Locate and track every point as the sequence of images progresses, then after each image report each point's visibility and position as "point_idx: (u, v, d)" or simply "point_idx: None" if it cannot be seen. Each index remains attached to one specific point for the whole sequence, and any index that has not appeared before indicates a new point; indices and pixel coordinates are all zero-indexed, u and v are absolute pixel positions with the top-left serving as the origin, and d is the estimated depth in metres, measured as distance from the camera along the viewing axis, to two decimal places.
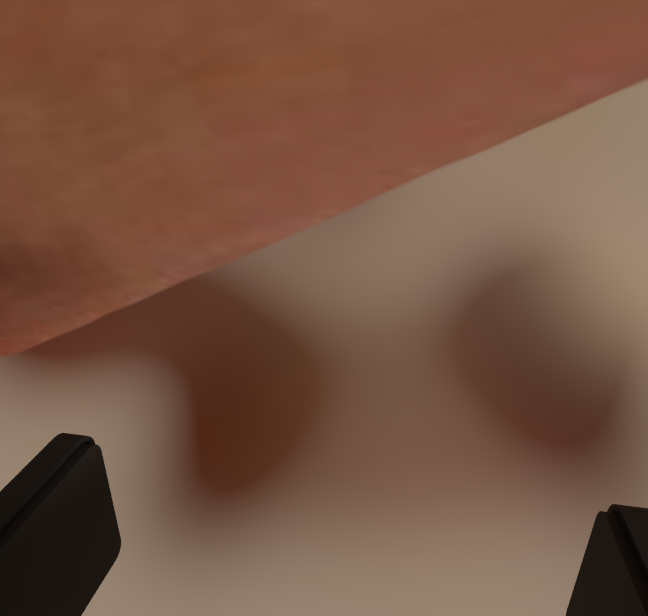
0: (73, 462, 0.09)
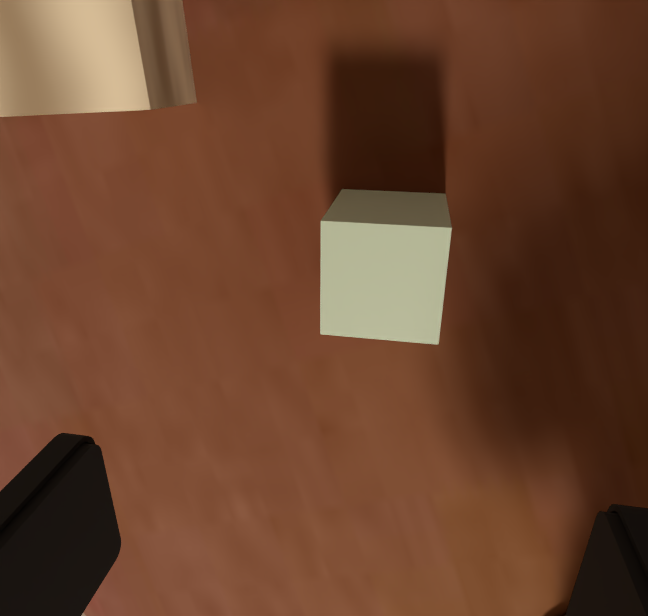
0: (73, 462, 0.09)
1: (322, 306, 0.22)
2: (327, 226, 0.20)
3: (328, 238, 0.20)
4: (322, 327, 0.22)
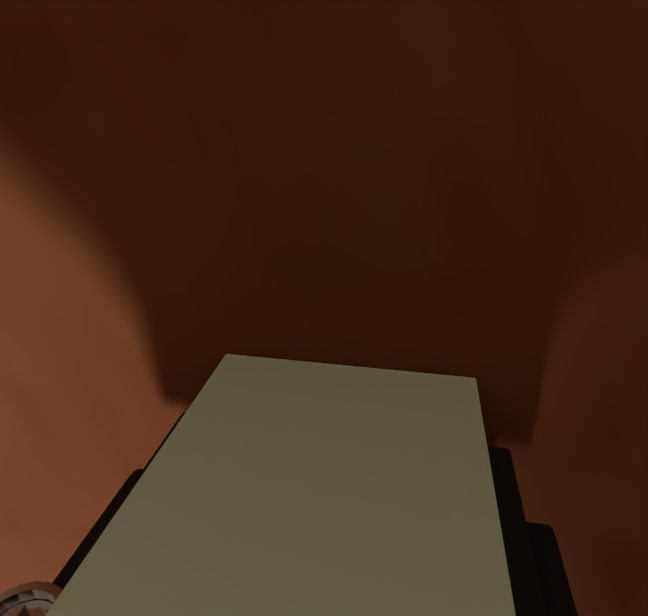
0: None
1: None
2: None
3: None
4: None
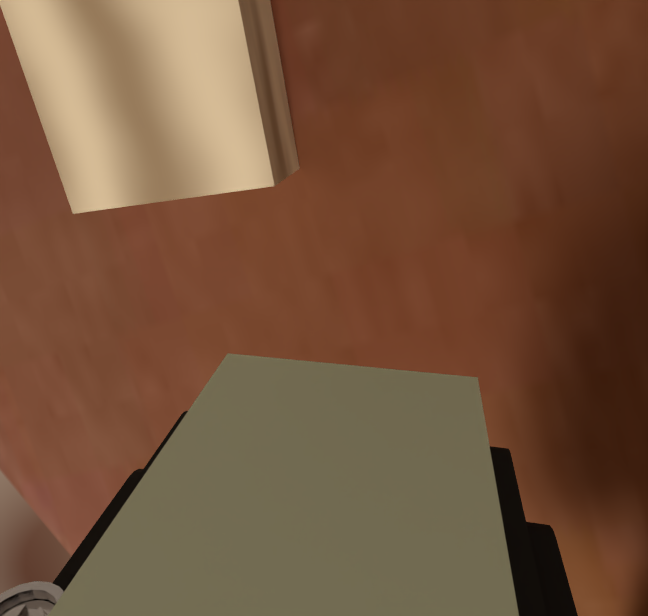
0: None
1: None
2: None
3: None
4: None
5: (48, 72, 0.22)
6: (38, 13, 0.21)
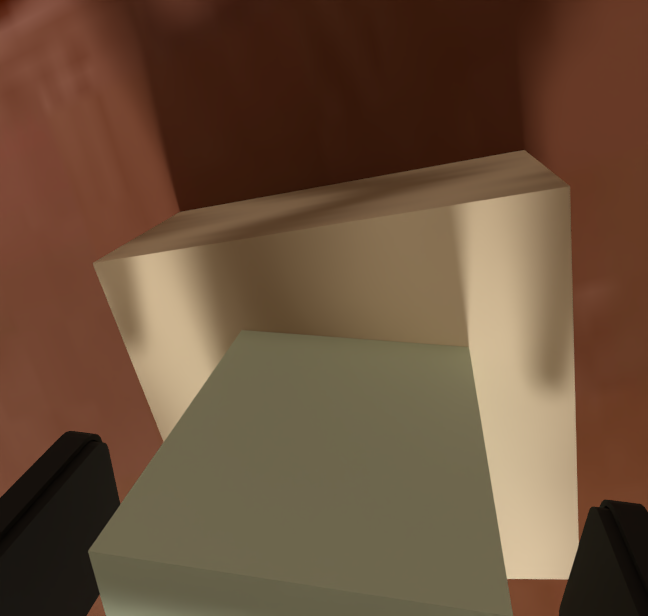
0: (81, 460, 0.09)
1: None
2: (111, 566, 0.06)
3: (120, 594, 0.07)
4: None
5: None
6: (182, 331, 0.12)
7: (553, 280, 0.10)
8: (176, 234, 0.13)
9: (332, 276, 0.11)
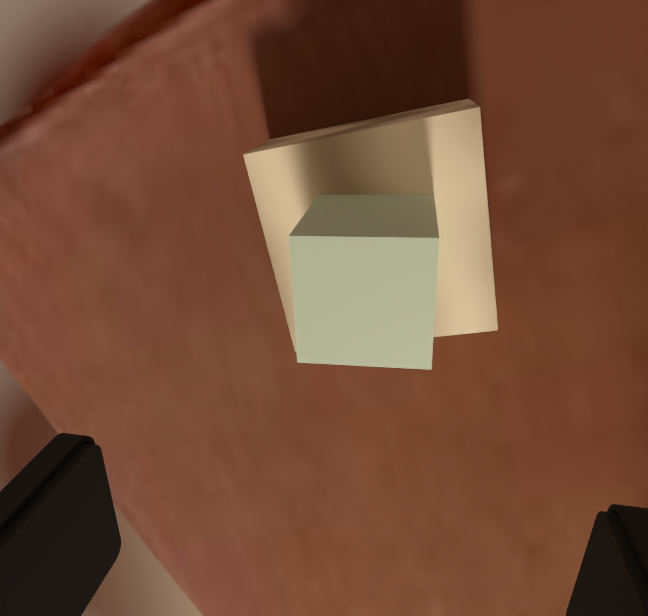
0: (73, 462, 0.09)
1: (297, 331, 0.19)
2: (296, 242, 0.18)
3: (298, 256, 0.18)
4: (299, 355, 0.19)
5: None
6: (288, 191, 0.23)
7: (475, 154, 0.21)
8: (281, 143, 0.24)
9: (368, 156, 0.22)
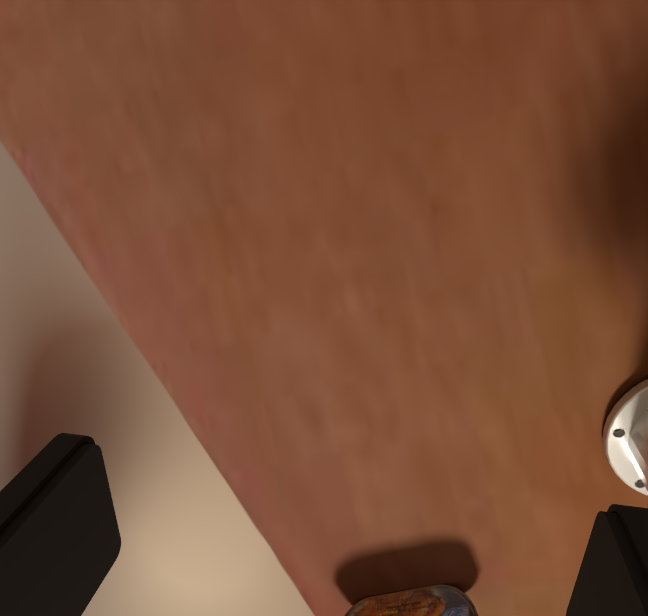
0: (73, 462, 0.09)
1: None
2: None
3: None
4: None
5: None
6: None
7: None
8: None
9: None
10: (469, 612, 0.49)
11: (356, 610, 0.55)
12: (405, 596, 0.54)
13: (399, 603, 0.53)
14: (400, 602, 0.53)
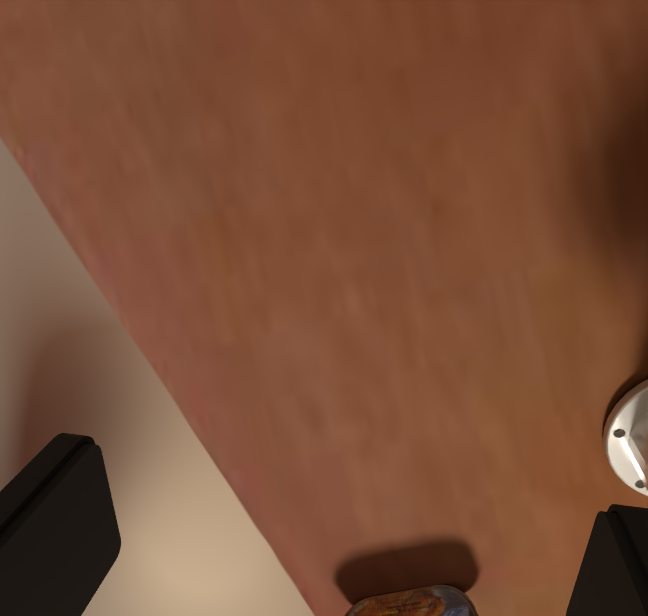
0: (73, 462, 0.09)
1: None
2: None
3: None
4: None
5: None
6: None
7: None
8: None
9: None
10: (469, 612, 0.49)
11: (356, 610, 0.55)
12: (405, 597, 0.54)
13: (399, 603, 0.53)
14: (400, 602, 0.53)
